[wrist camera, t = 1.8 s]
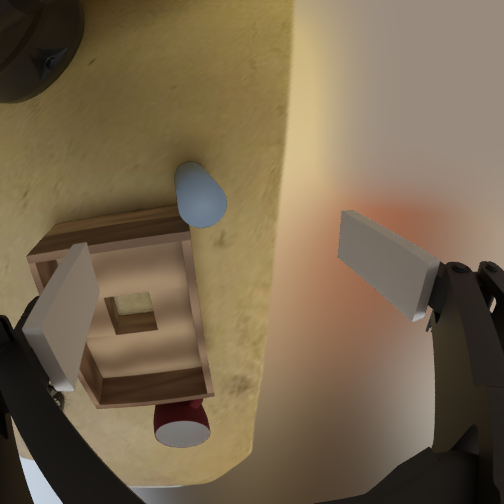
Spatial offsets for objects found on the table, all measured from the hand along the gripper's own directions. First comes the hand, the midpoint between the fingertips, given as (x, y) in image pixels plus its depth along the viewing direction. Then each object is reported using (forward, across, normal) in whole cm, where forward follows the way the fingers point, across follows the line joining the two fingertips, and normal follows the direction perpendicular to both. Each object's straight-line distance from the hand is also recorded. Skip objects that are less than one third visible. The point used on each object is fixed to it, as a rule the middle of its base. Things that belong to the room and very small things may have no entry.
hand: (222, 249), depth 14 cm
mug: (+20, -6, -31) cm, 37 cm away
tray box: (+20, -9, -14) cm, 26 cm away
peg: (+20, 0, 0) cm, 20 cm away
